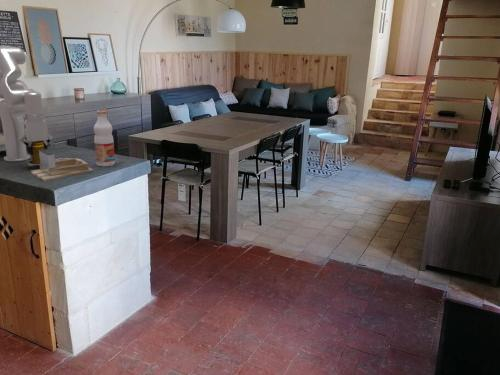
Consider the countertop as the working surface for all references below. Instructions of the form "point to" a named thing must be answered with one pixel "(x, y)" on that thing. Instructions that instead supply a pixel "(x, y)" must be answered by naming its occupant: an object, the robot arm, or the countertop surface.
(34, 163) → the condiment
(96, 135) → the fruit juice
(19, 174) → the countertop surface
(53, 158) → the grey flat block
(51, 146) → the countertop surface
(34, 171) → the wooden tray
